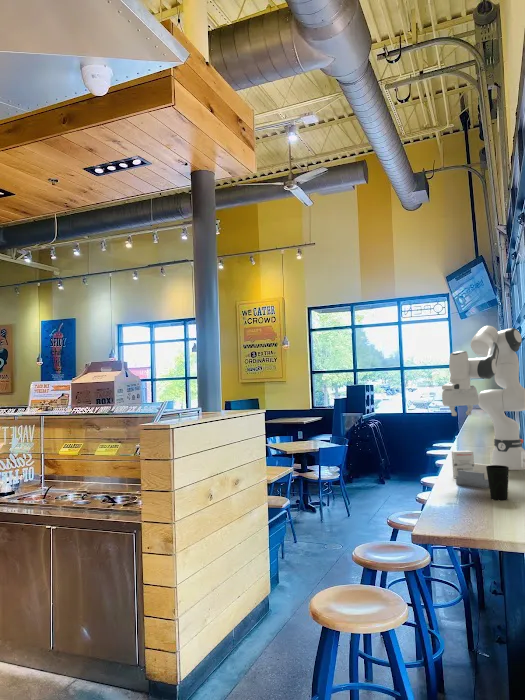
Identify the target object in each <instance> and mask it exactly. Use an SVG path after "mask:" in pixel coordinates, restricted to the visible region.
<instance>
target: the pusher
mask: <svg viewBox="0 0 525 700" xmlns="http://www.w3.org/2000/svg"><path fill="white" fill-rule="evenodd" d="M489 465H490V464H484V463H476V462H474V472H479V473H484V478H485V479H487V478H488V476H487V469H486V466H489Z"/></svg>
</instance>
